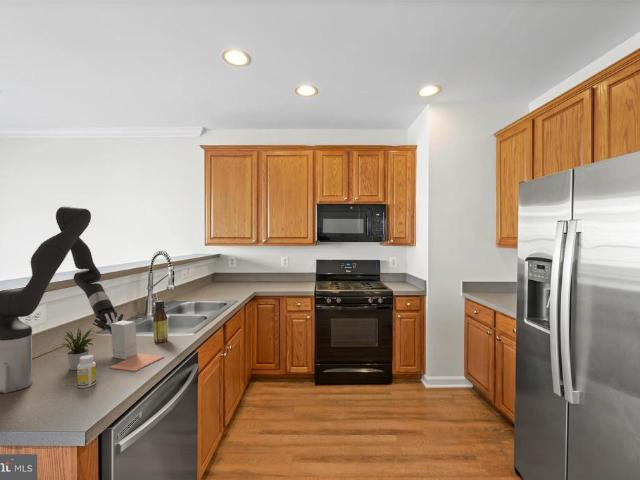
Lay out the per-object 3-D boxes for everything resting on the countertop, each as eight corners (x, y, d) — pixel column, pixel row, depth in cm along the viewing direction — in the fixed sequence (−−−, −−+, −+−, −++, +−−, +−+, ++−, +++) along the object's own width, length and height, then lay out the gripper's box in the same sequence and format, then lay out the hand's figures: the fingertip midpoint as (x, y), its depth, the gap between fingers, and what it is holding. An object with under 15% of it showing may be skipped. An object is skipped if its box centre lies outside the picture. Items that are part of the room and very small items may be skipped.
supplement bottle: (92, 380, 123) (93, 353, 122) (98, 384, 119) (98, 356, 119) (75, 385, 118) (75, 357, 118) (80, 389, 115) (80, 360, 115)
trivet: (134, 371, 130) (134, 370, 130) (109, 368, 134) (109, 366, 134) (164, 357, 146) (164, 356, 146) (140, 354, 149) (140, 353, 149)
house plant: (47, 378, 124) (47, 333, 123) (53, 365, 135) (53, 324, 135) (94, 371, 131) (94, 328, 131) (96, 359, 143) (96, 320, 142)
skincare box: (137, 355, 148) (137, 321, 147) (124, 360, 142) (124, 324, 142) (123, 353, 151) (123, 319, 151) (110, 357, 145) (110, 322, 145)
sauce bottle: (170, 339, 171) (170, 299, 170) (163, 343, 164) (163, 302, 164) (157, 339, 171) (157, 299, 171) (150, 343, 165) (150, 301, 165)
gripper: (88, 301, 148) (103, 333, 142) (119, 296, 159) (134, 326, 153) (81, 312, 151) (97, 344, 145) (112, 306, 162) (127, 336, 156)
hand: (116, 335), depth 149 cm, fingers closed
